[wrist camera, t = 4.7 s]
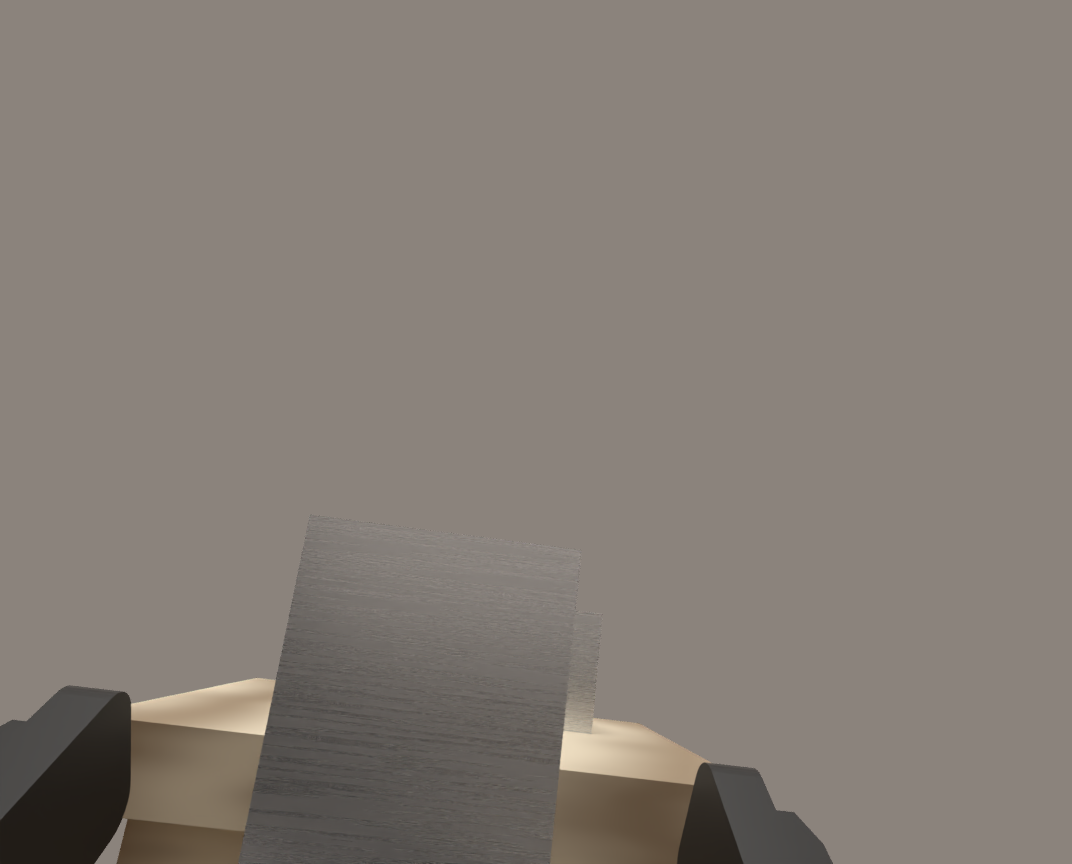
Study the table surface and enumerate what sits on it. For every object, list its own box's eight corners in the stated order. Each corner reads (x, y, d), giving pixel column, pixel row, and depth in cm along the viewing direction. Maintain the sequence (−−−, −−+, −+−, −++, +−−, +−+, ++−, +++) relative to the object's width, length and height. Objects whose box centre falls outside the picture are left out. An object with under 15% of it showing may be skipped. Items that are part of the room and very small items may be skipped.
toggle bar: (821, 929, 9) (824, 581, 10) (-63, 835, 8) (48, 480, 9) (578, 723, 28) (589, 615, 29) (314, 692, 27) (335, 584, 28)
